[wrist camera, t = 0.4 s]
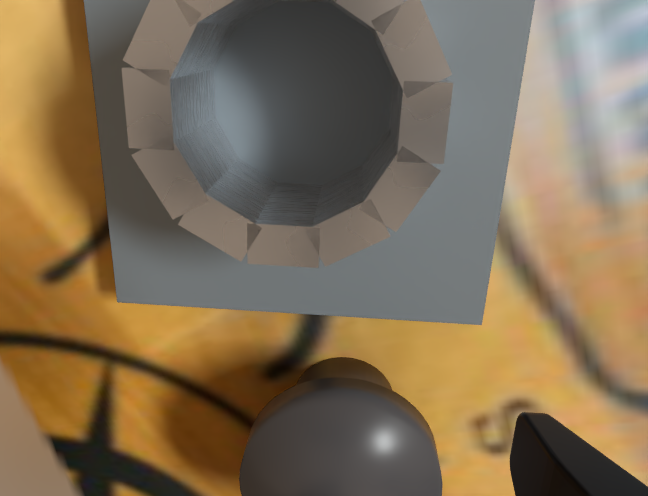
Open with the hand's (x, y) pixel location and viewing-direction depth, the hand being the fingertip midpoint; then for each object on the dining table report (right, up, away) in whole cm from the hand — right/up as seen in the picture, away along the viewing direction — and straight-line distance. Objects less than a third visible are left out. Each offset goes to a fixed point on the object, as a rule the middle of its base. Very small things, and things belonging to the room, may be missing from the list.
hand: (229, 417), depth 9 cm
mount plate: (+1, +8, +11) cm, 14 cm away
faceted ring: (+1, +8, +9) cm, 12 cm away
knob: (+2, -4, +15) cm, 16 cm away
